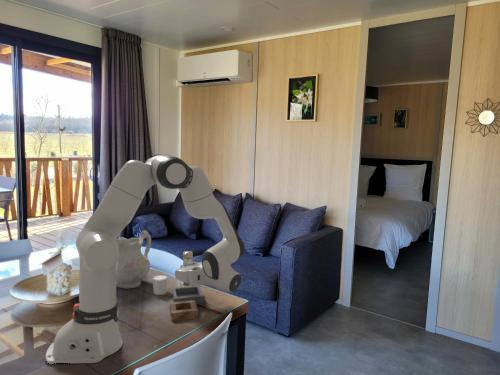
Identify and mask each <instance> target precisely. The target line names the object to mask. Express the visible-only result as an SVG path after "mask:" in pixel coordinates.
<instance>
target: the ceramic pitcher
mask: <svg viewBox="0 0 500 375" xmlns="http://www.w3.org/2000/svg"><path fill="white" fill-rule="evenodd" d="M144 240H146V246H145V249H144V253H142V246H143V244H144ZM116 242H117V244H118V248H119V257H118V268H117V276H116V288H120V289H126V290H127V289H134V288H138V287H139V286H141V285H142V283H143V282H142V280H144V278H145V277H146V276H147V275H148V274H149V272H150V267H151V261H150V260H149V258H148V256H149V255H148V254H149V252H150V250H151V246H152V237H151V235H150V233H149V231H148V230H147V229H145V230H141V234H140V236H139V237H132V238H126V237H123V236H120V237H117V239H116Z"/></svg>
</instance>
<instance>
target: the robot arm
mask: <svg viewBox="0 0 500 375" xmlns="http://www.w3.org/2000/svg"><path fill="white" fill-rule="evenodd" d="M154 185H157V186H158V187H160V188H161V187H162V188H164V189H165V188H166V189H169V190H177V189H178V191H179V193H180V197H181V200H182V203H183V205H184V209H185V211H186V212H187V214H188V215H189V216H190V217H192V218H195V219H197V220H198V219H199V220H207V219H214V221H215V222H216V223H217V226H218V227H219V229H220V231H221V233H222V239H221V241H219V242H218V243H216V244H215V245H213V246H211V247H210V248H208V249H207V250H206V251H204V252H203V253H202V255H201V261H200V262H195V261H193V265H189V266H186V265H183V264H180V265H179V266H180V267H179V268H176V269H175V271H174V278H175V279H176V280H178V281H179V282H182V283H183V282H184V283H189V285H190V286H208V287H213V288H214V289H216V290H219V291H221V292H224V293H233V292H235V291H236V290H238V288H240V285H241V283H242V274H240V273H239V272H237V271H236V270H235V269H233V267H232V266H231V265H232V264H233V263H235V262H237V261H239V260H240V259H241V258H243V257H244V256H245V252H246V251H245V250H246V247H245V243H244V241H243V238H241V236H240V235H239V234H238V231H237V229H236V227H235V224H234V222H233V220H232V218H231V216H230V214H229V211H228V210H227V208H226V206H225V204H224V203H223V202H222V201H220V200H217V199H216V197H215V195H214V193H213V190H212V186H211V183H210V182H209V179H208V176H207V175H206V173H205V171H204V169H203V168H202V167H200V166H199V165H188V163H186V162H185V161H184V160H183V159H181V158H180V157H178V156H173V155H171V154H167V153H166V154H162V153H161V154H159V153H158V154H154V155H152V156H150V157H149V158H147V159H146V160H144V161H141V160H138V159H131V160H128V161H126V162H125V163H124V164H123V166H122V167H121V168H120V169H119V170H118V172H117V173H116V174H115V176H114V177H113V179H112V181H111V183H110V185H109V187H108V188H107V190H106V192H105V194H104V196H103V197H102V199H101V201H100V203H99V205H98V206H97V208H96V209H95V211H94V212H93V213H92V214H91V216H90V217H89V219H88V220H87V221H86V223H85V224H84V225H83V227H82V229H81V231H80V232H79V233H78V234H77V237H76V241H75V246H76V250H77V253H78V256H79V279H78V280H79V282H78V298H79V300H78V302H79V303H75V304H74V305H73V308H72V309H73V310H72V319H71V320H69V321H68V322H67V323H65V324H64V325H63V326H62V327H60V328H59V330H58V331H57V333H56V334H55V337H54V340H53V342H52V343H51V344H50V345H49V347H48V348H47V349H46V352H45V362H46V361H47V362H46V364H48V363H49V364H48V365H57V364H56V363H68V364H69V363H70V364H71V365H72V364H95V363H100V362H101V361H102V360H103V359H105V358H106V357H109V356H111V355H113V354H115V353H117V351H119V350H120V349H121V348H122V346H123V343H124V342H123V339H122V337H121V336H122V335H121V332H120V329H119V322H118V321H119V313H120V312H119V303H118V301H117V287H116V283H117V282H116V276H117V268H118V257H119V248H118V244H117V242H116V239H117V238H119V236H120V234H121V233H122V231H123V230H124V229H125V228H126V227H127V226H128V225H129V224H130V223H131V221H132V220H133V218H134V216H135V214H136V212H137V211H138V209H139V207H140V205H141V204H142V202H143V199H144V198H145V196H146V193H147V192H148V190H149V189H150V188H152V187H153V186H154ZM190 286H189V287H190ZM54 363H55V364H54ZM68 364H67V365H68Z"/></svg>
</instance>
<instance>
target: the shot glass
mask: <svg viewBox="0 0 500 375" xmlns="http://www.w3.org/2000/svg"><path fill="white" fill-rule="evenodd" d="M168 278H169V276H167V275H165V274H157V275H154V276H152V277H151V281H152V288H153V290H152V291H153V294H154V295H157V296H160V295H161V296H162V295H165V294H167V291H168V281H169V279H168Z"/></svg>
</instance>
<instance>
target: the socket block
mask: <svg viewBox="0 0 500 375" xmlns="http://www.w3.org/2000/svg"><path fill="white" fill-rule="evenodd" d="M169 313H170V318H171V319H170V320H171V322H173V321H183V320H191V319H192V320H193V319H199V310H198V305H196V303H195V300H190V301H180V302H173V301H172V302H169Z"/></svg>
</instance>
